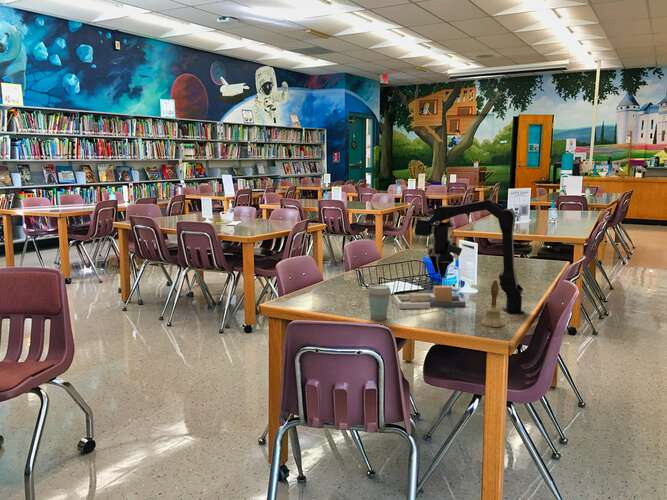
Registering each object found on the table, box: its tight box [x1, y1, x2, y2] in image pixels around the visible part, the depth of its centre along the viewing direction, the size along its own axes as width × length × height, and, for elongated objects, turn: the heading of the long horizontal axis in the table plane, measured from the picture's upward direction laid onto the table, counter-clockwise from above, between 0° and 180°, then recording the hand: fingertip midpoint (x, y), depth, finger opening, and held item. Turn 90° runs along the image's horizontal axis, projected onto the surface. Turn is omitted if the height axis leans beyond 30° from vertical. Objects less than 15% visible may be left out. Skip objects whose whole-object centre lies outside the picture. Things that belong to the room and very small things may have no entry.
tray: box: [392, 294, 431, 309], centre depth 238 cm, size 14×12×2 cm
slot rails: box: [429, 295, 467, 308], centre depth 239 cm, size 11×15×2 cm
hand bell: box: [480, 279, 505, 328], centre depth 209 cm, size 8×8×16 cm
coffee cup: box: [367, 283, 391, 321], centre depth 216 cm, size 9×9×12 cm
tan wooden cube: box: [408, 292, 421, 303], centre depth 238 cm, size 4×4×4 cm
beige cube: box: [418, 292, 431, 303], centre depth 238 cm, size 4×4×4 cm
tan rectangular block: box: [428, 285, 453, 302], centre depth 239 cm, size 6×9×7 cm
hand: (439, 275), depth 237 cm, fingers open, 9 cm apart
